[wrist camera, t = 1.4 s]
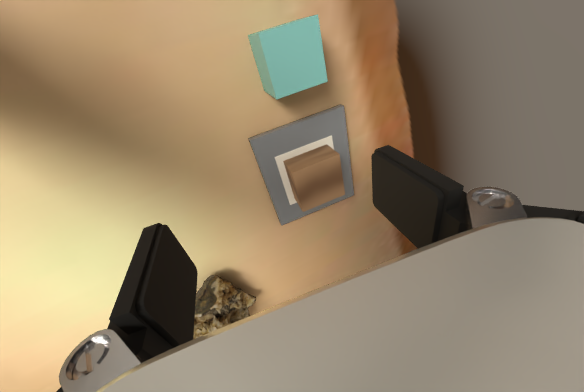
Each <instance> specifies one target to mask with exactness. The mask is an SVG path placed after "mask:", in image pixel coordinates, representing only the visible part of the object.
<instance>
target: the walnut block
mask: <svg viewBox="0 0 584 392" xmlns="http://www.w3.org/2000/svg"><path fill="white" fill-rule="evenodd" d="M283 162H284V165H285V169H286V172H287V175H288V179H289V182H290V185H291V188H292V192H293V195H294V198H295V200H296V202H297V203H298V205H299V206H300V208H301V210H302V211H303V212H305V211H307V210H309V209H312V208H314V207H317V206H319V205H321V204H324V203H326V202H329V201H331V200H333V199H336V198H338V197H341V196H343V195H345V190H344V183H343V176H342V168H341V161H340V154H339V153H337V152H336V151H335V150H334V149H332V148H331V147H330V146H328V145H327V144H326V145H323V146H321V147H318V148H316V149H313V150H310V151H308V152H305V153H303V154H300V155H298V156H295V157H292V158H290V159H287V160H285V161H283Z"/></svg>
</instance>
